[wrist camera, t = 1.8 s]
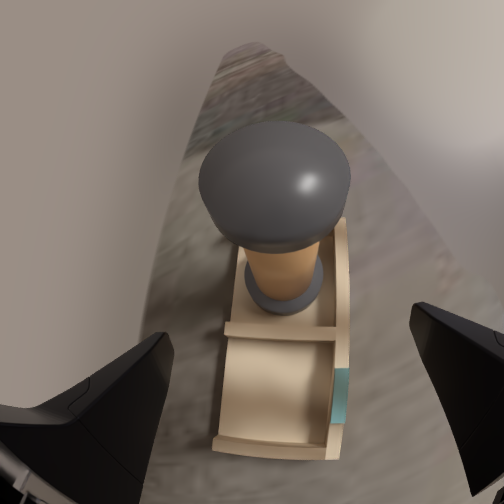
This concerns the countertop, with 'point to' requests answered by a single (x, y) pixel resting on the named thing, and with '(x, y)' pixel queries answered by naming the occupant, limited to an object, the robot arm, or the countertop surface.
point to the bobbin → (277, 206)
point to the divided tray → (289, 368)
